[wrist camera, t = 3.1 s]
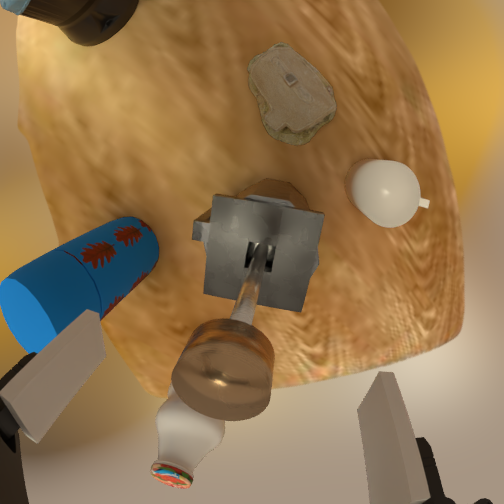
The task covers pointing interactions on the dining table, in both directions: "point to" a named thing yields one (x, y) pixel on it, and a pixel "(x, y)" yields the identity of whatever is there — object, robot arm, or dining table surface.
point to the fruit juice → (183, 441)
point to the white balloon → (384, 191)
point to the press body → (261, 242)
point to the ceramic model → (290, 94)
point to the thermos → (77, 280)
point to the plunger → (230, 355)
